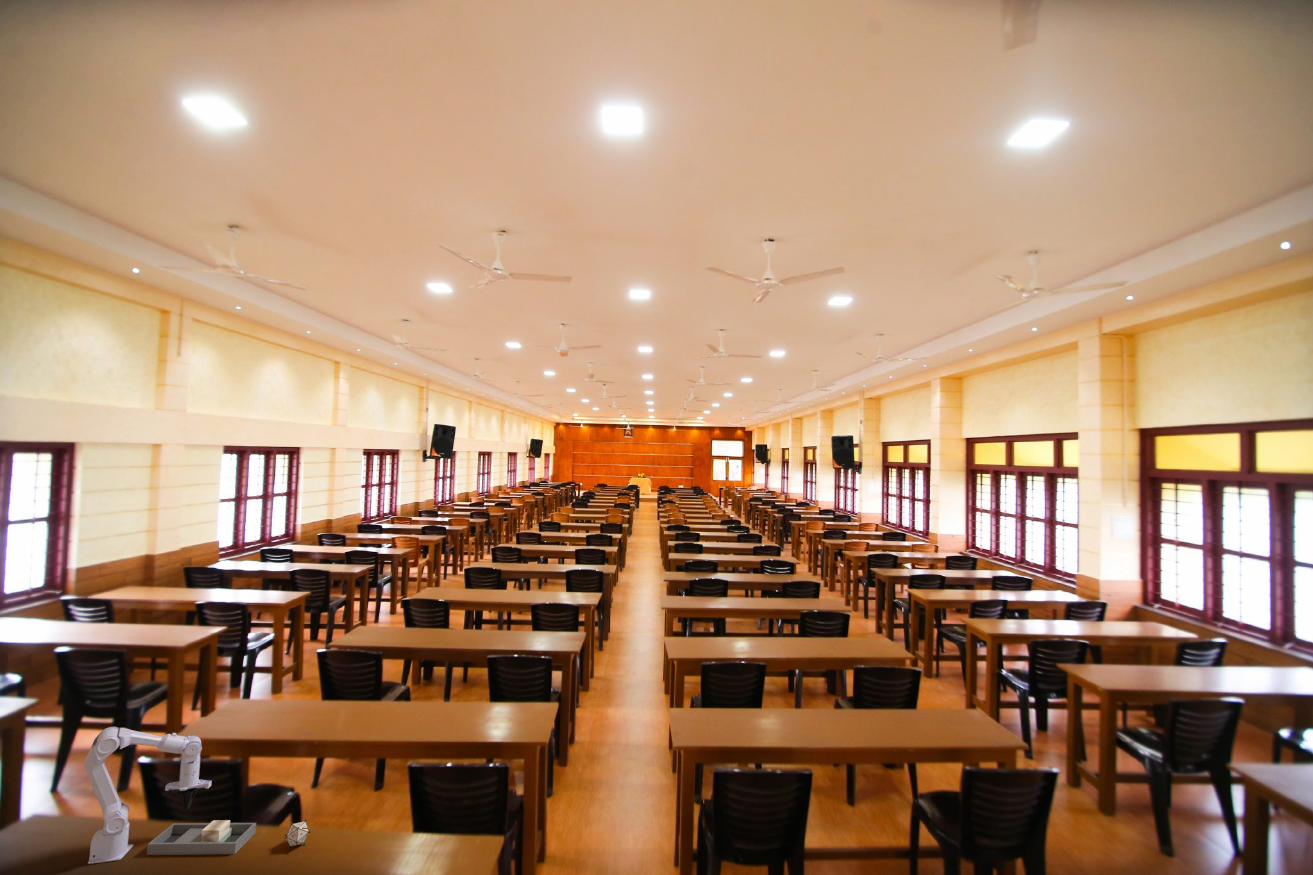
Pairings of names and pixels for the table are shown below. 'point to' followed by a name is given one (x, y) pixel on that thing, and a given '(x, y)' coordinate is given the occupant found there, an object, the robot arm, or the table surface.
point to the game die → (297, 833)
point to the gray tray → (199, 840)
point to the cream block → (215, 831)
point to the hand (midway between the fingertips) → (186, 807)
